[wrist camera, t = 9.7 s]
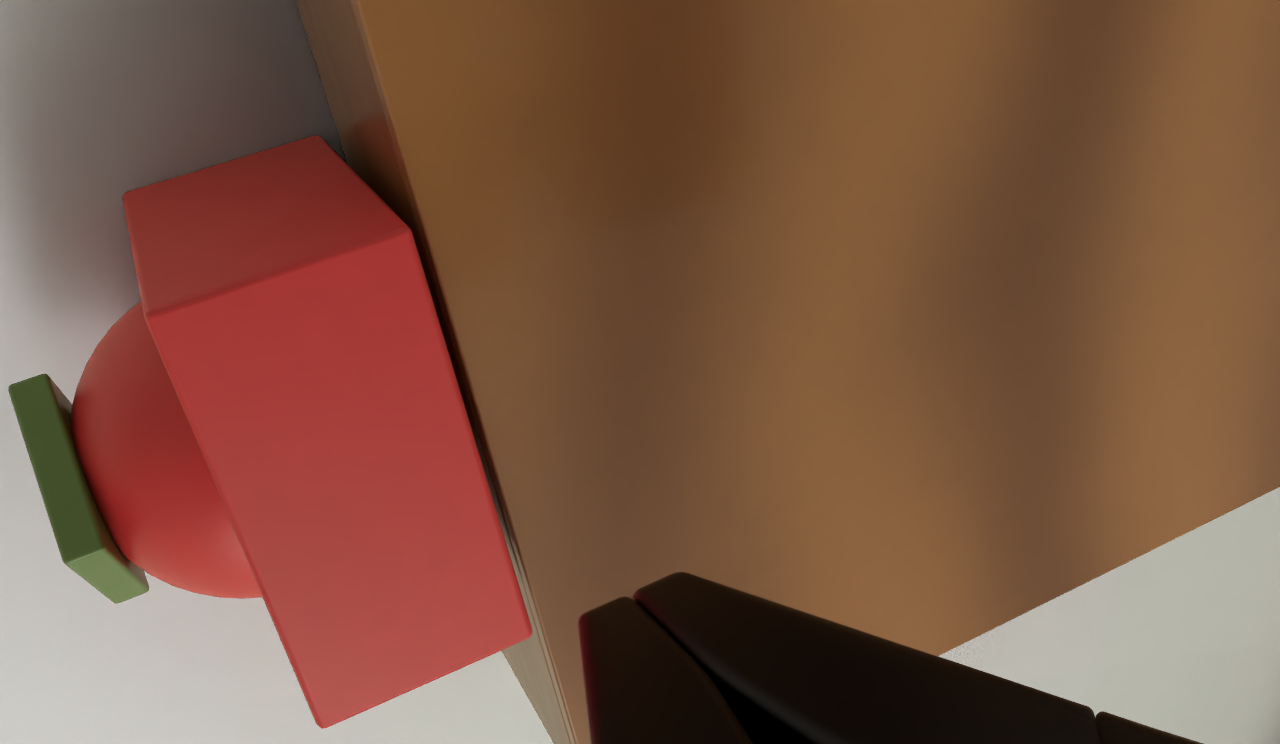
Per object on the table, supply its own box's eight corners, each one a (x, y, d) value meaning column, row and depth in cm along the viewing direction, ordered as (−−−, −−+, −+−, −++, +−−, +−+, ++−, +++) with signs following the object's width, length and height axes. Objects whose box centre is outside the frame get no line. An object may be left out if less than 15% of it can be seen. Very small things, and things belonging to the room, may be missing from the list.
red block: (410, 224, 11) (-59, 380, 10) (536, 638, 13) (163, 804, 12) (319, 132, 15) (-25, 236, 14) (427, 463, 17) (137, 575, 16)
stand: (1266, -417, 18) (1556, -487, 14) (1243, 325, 23) (1447, 404, 20) (233, -196, 13) (292, -218, 10) (501, 652, 19) (599, 824, 15)
